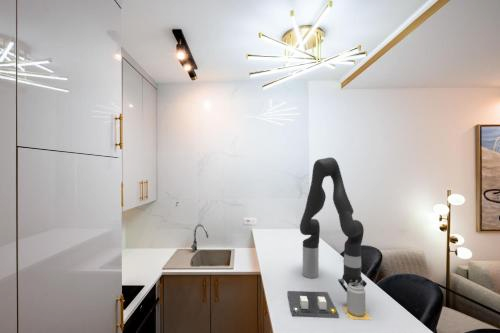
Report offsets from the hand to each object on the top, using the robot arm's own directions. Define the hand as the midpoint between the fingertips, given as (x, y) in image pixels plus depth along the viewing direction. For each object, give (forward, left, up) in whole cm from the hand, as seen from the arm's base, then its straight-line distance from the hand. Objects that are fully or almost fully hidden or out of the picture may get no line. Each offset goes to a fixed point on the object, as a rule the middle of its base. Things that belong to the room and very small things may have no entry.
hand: (351, 300), depth 110 cm
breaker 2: (+5, -15, -1) cm, 16 cm away
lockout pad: (+5, 0, -3) cm, 6 cm away
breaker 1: (+5, -23, -1) cm, 23 cm away
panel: (0, -19, -3) cm, 19 cm away
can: (+5, 0, -3) cm, 6 cm away
